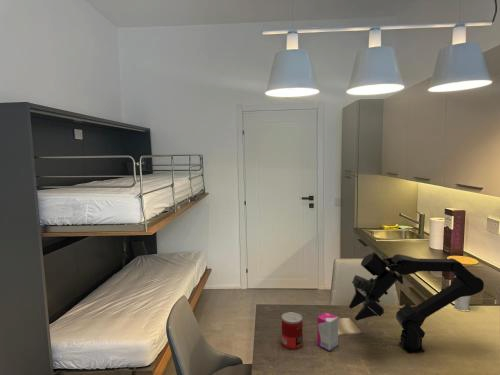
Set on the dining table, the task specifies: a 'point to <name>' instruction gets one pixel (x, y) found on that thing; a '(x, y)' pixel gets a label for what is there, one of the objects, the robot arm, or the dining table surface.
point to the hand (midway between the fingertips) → (352, 313)
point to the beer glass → (462, 303)
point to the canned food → (292, 330)
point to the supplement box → (327, 331)
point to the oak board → (347, 327)
